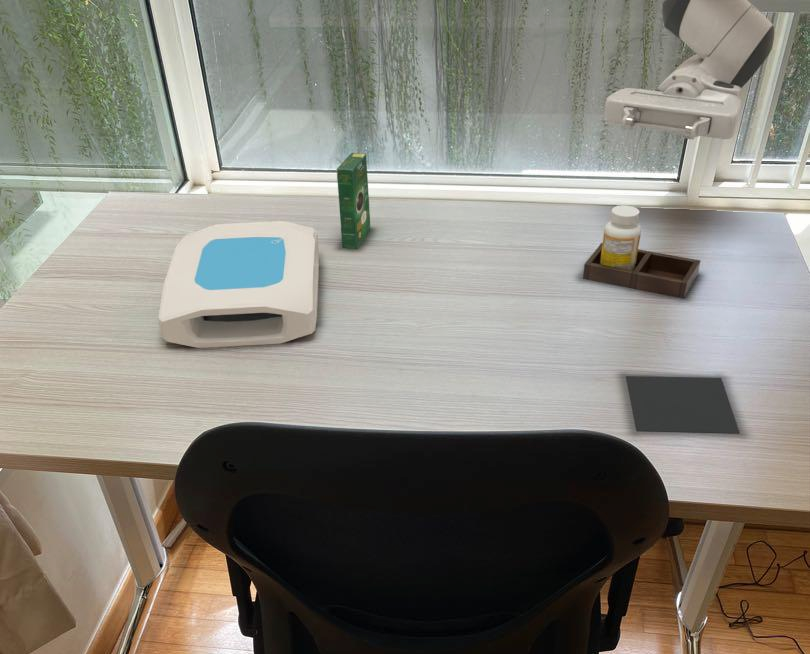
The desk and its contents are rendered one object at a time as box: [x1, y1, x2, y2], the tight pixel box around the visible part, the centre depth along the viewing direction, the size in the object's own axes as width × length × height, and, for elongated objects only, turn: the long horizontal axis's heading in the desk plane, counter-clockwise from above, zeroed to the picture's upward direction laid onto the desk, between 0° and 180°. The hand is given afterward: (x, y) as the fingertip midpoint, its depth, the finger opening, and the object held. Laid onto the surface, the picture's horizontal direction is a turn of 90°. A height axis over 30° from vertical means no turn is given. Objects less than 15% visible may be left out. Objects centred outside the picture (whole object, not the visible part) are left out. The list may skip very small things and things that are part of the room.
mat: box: [625, 375, 741, 435], centre depth 108 cm, size 12×12×1 cm
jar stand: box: [582, 242, 701, 299], centre depth 132 cm, size 15×8×3 cm, turn 63°
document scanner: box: [157, 220, 320, 349], centre depth 130 cm, size 21×28×6 cm
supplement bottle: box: [600, 204, 642, 271], centre depth 131 cm, size 5×5×10 cm
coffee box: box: [335, 152, 371, 250], centre depth 142 cm, size 8×3×13 cm, turn 165°
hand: (657, 129), depth 130 cm, fingers open, 8 cm apart
